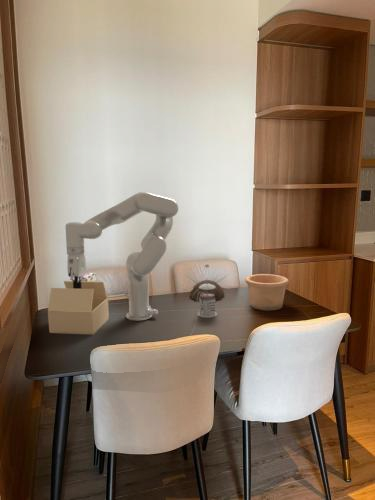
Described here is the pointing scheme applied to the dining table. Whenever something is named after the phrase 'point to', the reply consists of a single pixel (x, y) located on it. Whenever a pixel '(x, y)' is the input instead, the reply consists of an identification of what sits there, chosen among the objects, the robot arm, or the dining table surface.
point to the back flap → (91, 287)
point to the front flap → (70, 299)
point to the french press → (207, 301)
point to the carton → (80, 319)
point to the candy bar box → (89, 277)
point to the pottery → (266, 291)
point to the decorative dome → (217, 291)
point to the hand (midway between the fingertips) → (77, 290)
